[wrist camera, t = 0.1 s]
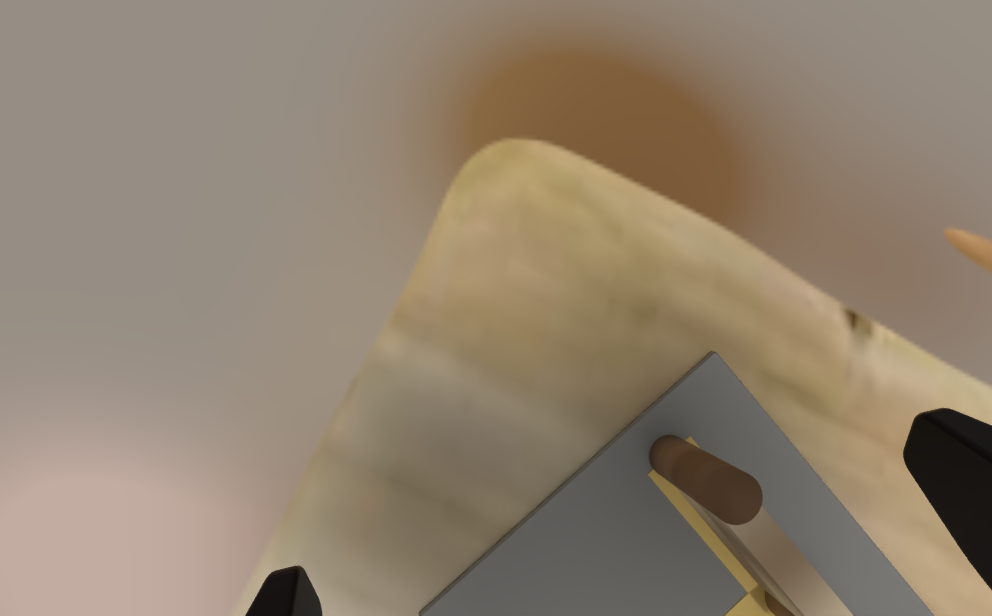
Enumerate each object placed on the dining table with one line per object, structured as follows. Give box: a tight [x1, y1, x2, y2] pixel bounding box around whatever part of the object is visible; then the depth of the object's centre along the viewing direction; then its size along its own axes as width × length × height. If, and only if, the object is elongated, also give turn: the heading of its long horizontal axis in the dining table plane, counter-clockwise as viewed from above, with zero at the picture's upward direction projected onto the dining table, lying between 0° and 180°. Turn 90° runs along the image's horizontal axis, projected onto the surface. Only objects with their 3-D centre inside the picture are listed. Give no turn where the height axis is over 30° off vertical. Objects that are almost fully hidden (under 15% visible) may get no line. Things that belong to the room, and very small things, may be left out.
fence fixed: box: [649, 435, 855, 616], centre depth 22 cm, size 9×2×6 cm, turn 40°
